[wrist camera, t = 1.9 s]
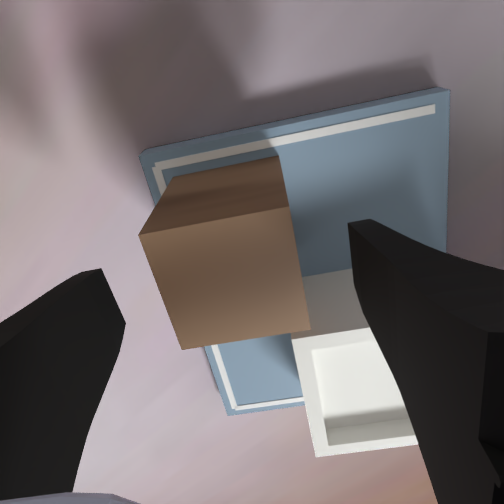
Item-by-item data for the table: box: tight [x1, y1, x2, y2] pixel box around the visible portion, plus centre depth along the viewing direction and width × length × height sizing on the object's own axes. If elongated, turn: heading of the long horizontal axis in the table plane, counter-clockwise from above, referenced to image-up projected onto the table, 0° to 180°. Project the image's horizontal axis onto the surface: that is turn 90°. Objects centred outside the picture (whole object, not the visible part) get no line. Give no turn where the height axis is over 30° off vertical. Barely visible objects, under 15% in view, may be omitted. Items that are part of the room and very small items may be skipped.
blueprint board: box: [139, 87, 450, 457], centre depth 16 cm, size 14×11×5 cm
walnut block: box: [138, 155, 311, 350], centre depth 13 cm, size 4×4×5 cm
